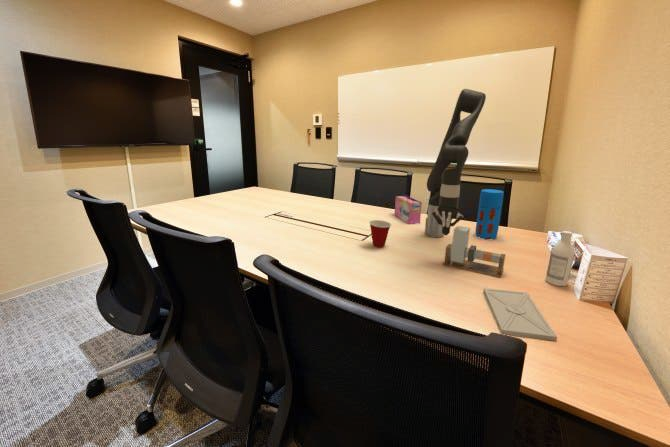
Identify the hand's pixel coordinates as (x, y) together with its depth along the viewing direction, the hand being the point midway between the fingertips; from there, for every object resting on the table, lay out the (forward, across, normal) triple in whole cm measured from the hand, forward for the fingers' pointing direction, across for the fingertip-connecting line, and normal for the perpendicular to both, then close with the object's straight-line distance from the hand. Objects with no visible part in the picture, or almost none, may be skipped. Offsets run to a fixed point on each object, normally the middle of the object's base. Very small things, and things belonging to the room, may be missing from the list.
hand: (445, 234), depth 133 cm
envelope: (+13, -30, +30) cm, 44 cm away
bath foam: (+12, -41, -3) cm, 43 cm away
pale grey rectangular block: (+10, -6, 0) cm, 12 cm away
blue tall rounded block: (+12, -10, -47) cm, 50 cm away
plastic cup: (+12, +32, -2) cm, 34 cm away
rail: (+12, -12, 0) cm, 17 cm away
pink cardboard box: (+12, +38, -57) cm, 70 cm away
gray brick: (+9, -11, 0) cm, 14 cm away
